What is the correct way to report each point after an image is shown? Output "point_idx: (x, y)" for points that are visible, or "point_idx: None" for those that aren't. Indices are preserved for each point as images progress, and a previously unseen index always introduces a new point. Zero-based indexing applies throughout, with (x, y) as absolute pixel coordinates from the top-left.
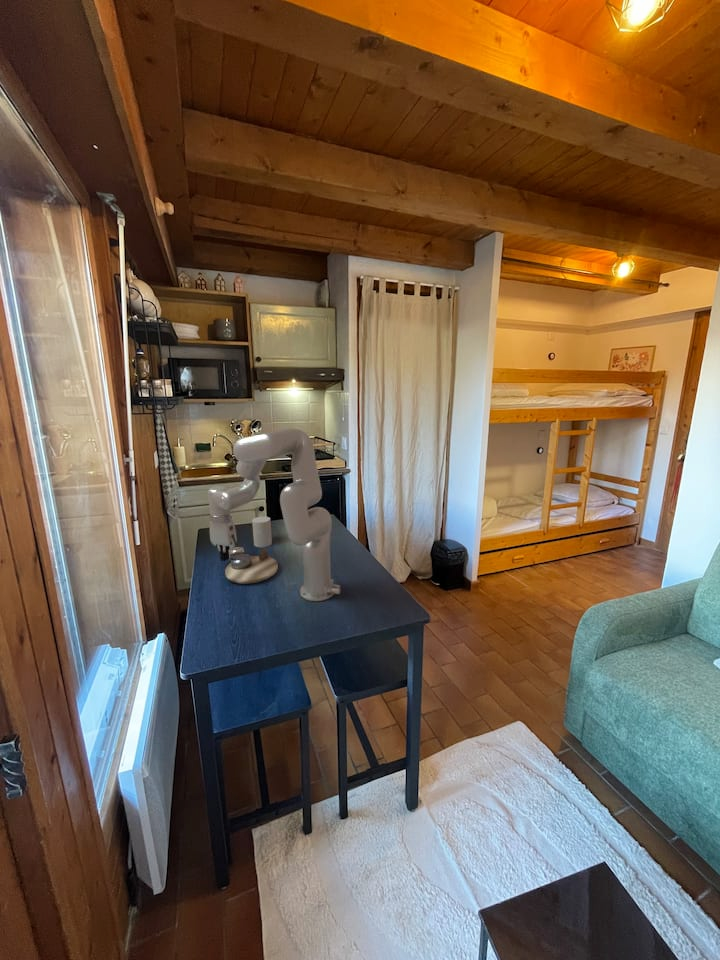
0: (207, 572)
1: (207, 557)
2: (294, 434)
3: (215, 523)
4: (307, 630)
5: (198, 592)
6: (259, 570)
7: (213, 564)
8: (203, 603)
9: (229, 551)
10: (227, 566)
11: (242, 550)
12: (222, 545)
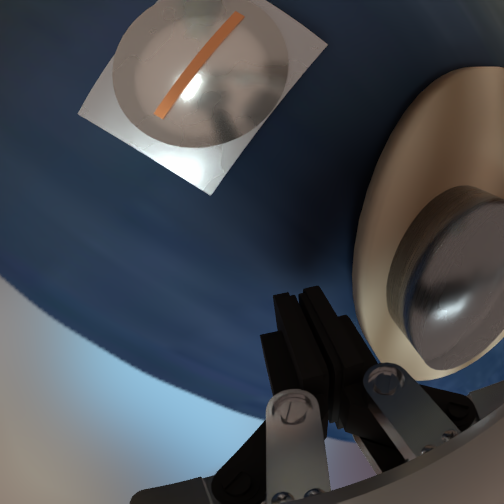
0: (227, 380)
1: (8, 255)
2: None
3: None
4: None
5: (341, 440)
6: None
7: (147, 304)
8: None
9: (135, 140)
10: (373, 342)
11: (275, 23)
12: (293, 458)
